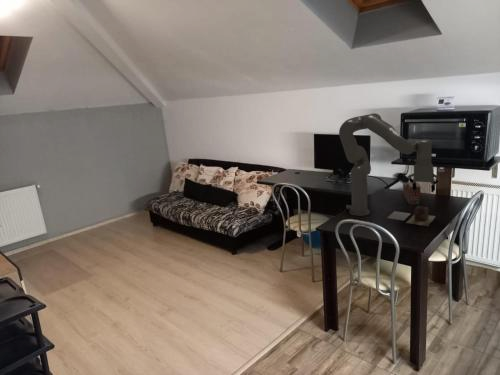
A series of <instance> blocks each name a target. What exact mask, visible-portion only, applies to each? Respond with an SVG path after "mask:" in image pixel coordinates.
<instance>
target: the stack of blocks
mask: <svg viewBox="0 0 500 375" xmlns="http://www.w3.org/2000/svg"><path fill="white" fill-rule="evenodd" d="M402 183H403V186H402V187H403V189H402V192H403V193H402V195H404V196H403V197H404V198H405V199H406V201H407V203H408V204H409V205H420V204H421V186H420V184H418V182H416V190H415V191H413V184H412V183H411V182H410V181H407V182H402Z"/></svg>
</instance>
